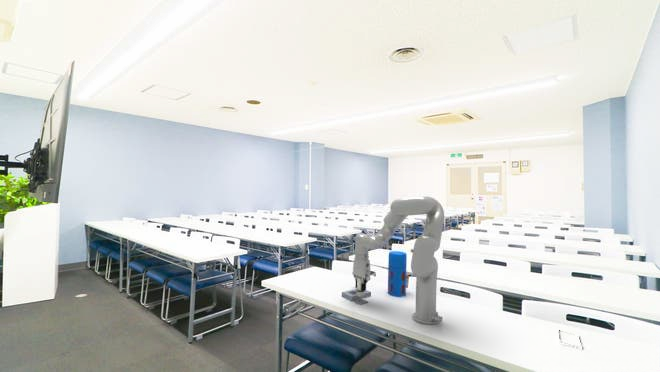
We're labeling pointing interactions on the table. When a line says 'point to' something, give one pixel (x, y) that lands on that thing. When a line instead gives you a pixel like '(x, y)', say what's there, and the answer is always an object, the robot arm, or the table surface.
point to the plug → (359, 287)
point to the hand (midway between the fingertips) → (360, 288)
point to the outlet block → (354, 294)
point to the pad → (360, 301)
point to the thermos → (397, 273)
